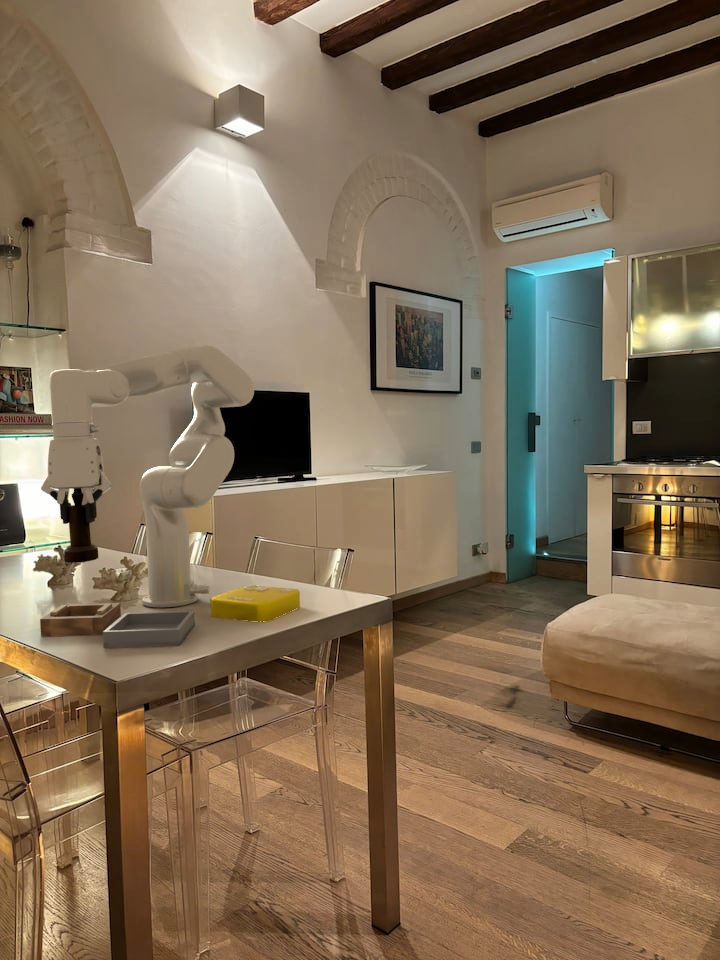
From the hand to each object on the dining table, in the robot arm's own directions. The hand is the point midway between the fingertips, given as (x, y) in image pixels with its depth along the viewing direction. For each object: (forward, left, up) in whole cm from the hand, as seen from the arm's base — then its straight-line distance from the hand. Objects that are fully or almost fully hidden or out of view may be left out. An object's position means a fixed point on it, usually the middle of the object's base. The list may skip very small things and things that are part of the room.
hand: (79, 521), depth 148 cm
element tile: (-34, -9, -22) cm, 42 cm away
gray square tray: (-16, +8, -22) cm, 28 cm away
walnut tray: (0, 0, -22) cm, 22 cm away
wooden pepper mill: (0, 0, -8) cm, 8 cm away
